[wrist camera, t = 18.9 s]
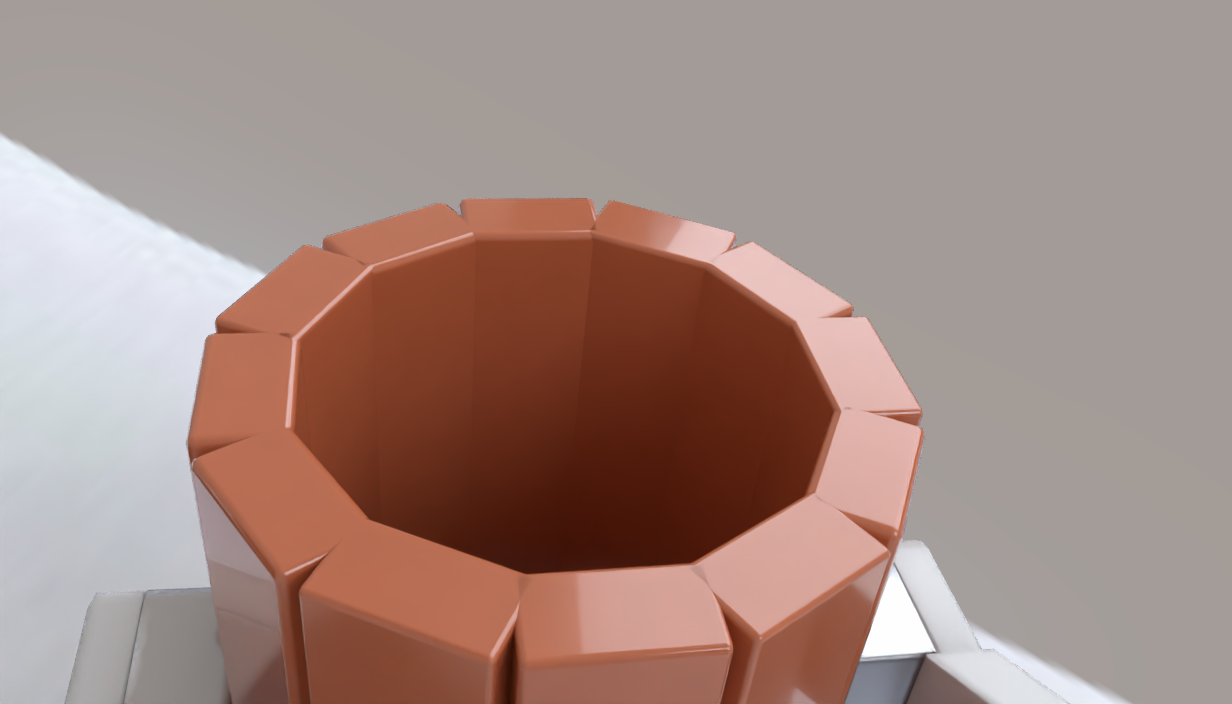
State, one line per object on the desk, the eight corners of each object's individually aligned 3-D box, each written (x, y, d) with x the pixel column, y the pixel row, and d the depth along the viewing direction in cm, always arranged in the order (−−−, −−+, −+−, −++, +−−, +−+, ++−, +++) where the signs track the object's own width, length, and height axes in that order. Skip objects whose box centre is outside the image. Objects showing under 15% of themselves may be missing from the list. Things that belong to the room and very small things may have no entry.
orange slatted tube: (267, 1219, 12) (134, 698, 7) (294, 731, 17) (229, 195, 11) (802, 1127, 13) (1052, 622, 8) (688, 696, 18) (797, 194, 13)
